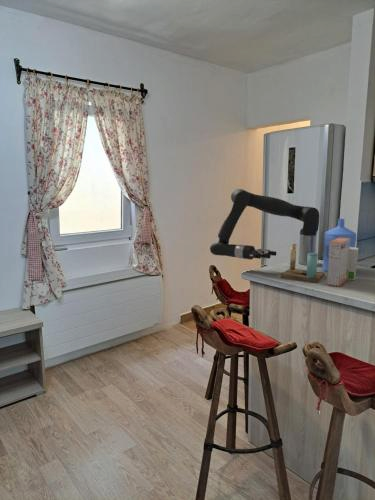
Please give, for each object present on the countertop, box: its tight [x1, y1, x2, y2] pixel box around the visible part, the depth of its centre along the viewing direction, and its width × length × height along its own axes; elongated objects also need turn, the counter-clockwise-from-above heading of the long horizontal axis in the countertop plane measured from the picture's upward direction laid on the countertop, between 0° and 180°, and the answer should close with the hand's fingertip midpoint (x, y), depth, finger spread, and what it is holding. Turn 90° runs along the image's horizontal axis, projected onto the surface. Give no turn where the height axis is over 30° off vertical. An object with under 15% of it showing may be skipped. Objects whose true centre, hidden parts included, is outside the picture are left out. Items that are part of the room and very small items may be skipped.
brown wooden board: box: [279, 268, 326, 284], centre depth 182 cm, size 15×18×2 cm
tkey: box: [289, 243, 307, 274], centre depth 181 cm, size 5×10×14 cm, turn 56°
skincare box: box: [347, 246, 359, 281], centre depth 179 cm, size 8×7×16 cm
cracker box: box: [327, 238, 351, 287], centre depth 170 cm, size 14×6×21 cm, turn 141°
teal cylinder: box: [306, 252, 319, 278], centre depth 174 cm, size 5×5×12 cm
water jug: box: [322, 218, 357, 273], centre depth 193 cm, size 16×16×28 cm
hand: (273, 255), depth 188 cm, fingers open, 8 cm apart
